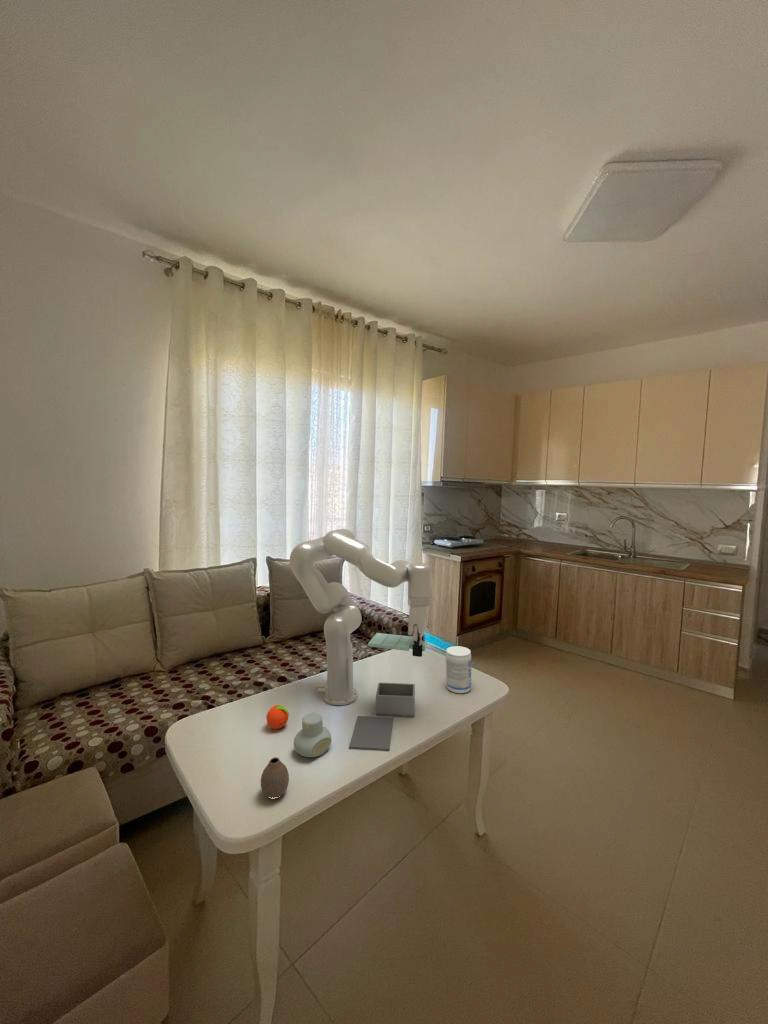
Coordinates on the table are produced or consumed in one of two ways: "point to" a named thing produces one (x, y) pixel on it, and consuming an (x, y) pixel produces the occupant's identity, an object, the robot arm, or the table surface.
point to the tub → (395, 700)
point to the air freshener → (312, 736)
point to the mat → (372, 733)
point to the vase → (274, 778)
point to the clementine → (277, 716)
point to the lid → (394, 642)
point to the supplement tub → (458, 669)
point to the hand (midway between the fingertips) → (418, 652)
